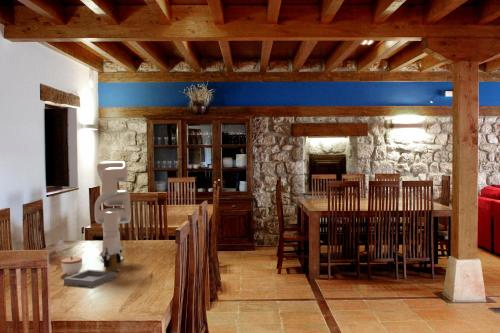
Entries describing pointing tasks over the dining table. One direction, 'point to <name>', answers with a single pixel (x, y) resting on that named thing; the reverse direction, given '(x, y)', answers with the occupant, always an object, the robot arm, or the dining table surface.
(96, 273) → the tray
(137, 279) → the dining table surface
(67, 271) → the lidded jar
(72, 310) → the dining table surface
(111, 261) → the condiment
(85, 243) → the dining table surface
